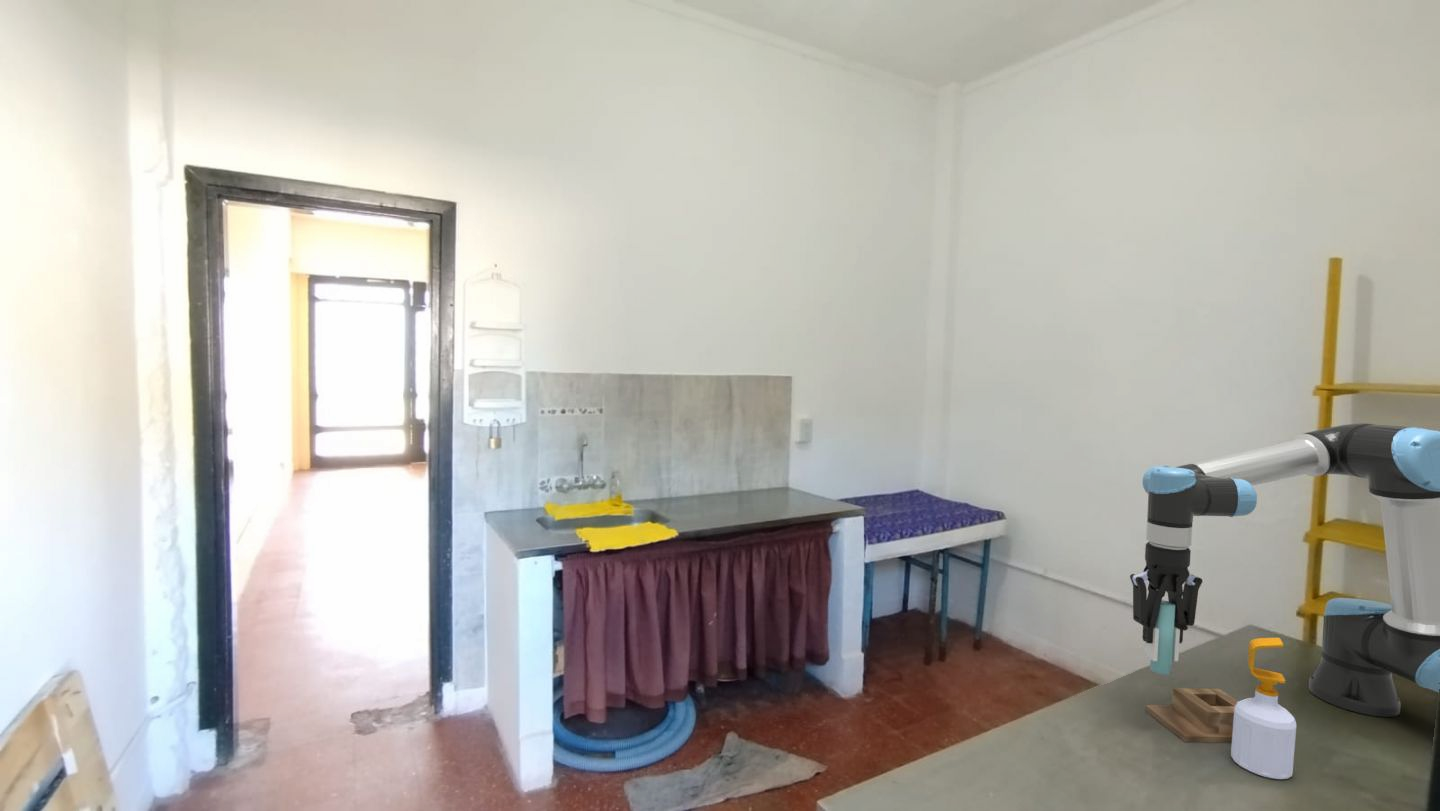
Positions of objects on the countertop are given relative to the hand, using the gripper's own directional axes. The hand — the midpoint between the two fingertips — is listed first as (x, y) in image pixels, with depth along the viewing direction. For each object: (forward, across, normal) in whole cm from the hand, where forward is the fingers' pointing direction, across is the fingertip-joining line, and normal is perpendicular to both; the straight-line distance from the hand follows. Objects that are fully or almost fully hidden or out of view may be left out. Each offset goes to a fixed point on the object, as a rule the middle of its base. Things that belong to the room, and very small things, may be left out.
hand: (1161, 657), depth 134 cm
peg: (+3, 0, 0) cm, 3 cm away
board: (+16, -14, -3) cm, 21 cm away
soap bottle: (+16, -13, +11) cm, 23 cm away
